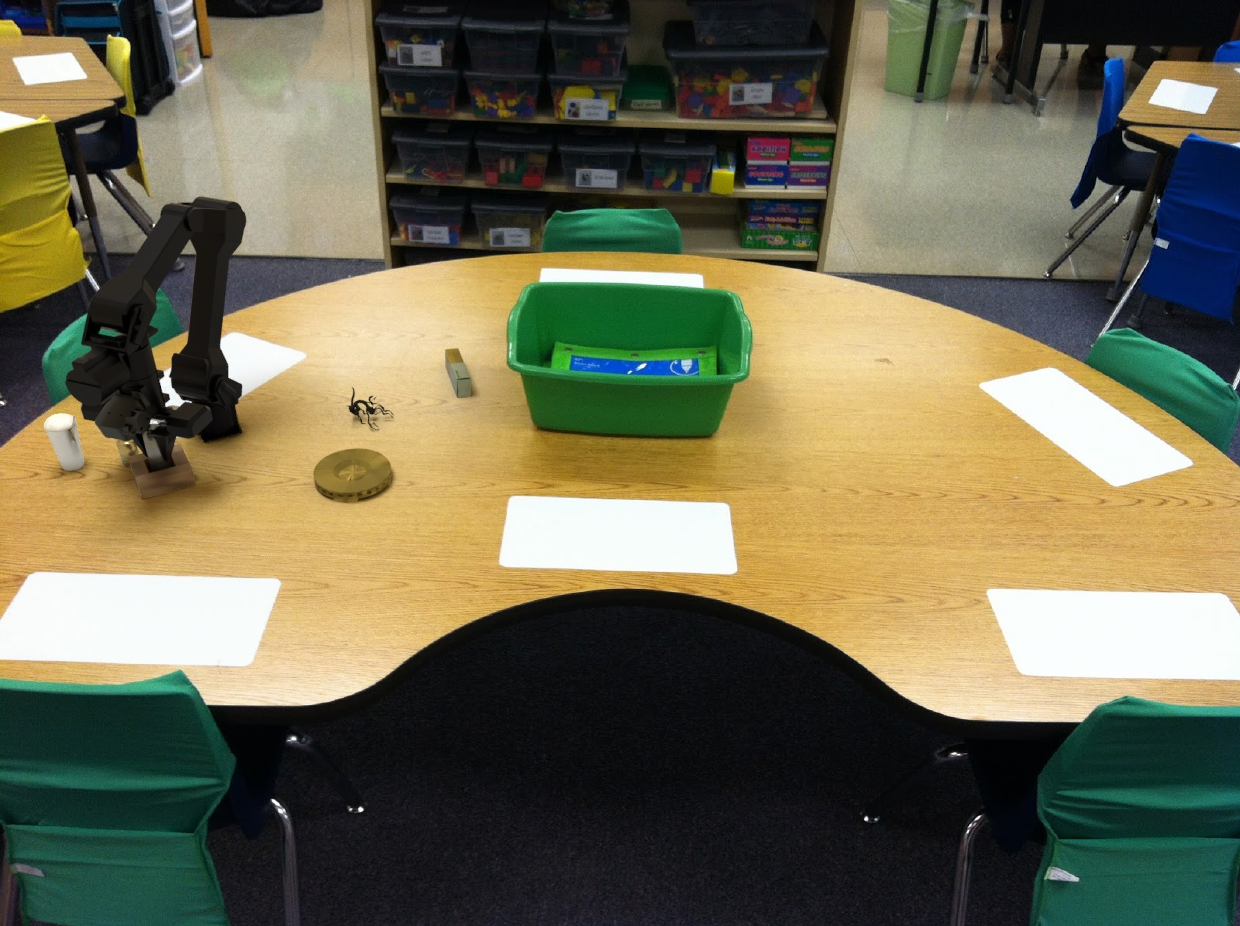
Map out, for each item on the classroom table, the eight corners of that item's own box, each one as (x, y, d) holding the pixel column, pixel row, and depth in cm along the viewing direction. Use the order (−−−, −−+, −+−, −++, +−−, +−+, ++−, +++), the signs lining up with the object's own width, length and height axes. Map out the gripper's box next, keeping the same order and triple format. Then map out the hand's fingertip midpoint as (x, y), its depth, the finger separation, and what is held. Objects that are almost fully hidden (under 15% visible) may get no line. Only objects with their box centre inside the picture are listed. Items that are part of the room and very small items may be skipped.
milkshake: (82, 476, 164) (65, 423, 158) (51, 471, 165) (33, 418, 159) (99, 460, 168) (83, 407, 162) (69, 455, 169) (52, 402, 163)
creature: (395, 412, 185) (349, 403, 184) (399, 387, 182) (353, 378, 181) (389, 437, 179) (342, 428, 177) (393, 411, 176) (346, 402, 174)
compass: (300, 480, 166) (298, 469, 165) (362, 450, 174) (361, 439, 172) (344, 513, 160) (342, 502, 159) (407, 481, 167) (406, 470, 166)
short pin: (139, 455, 169) (133, 434, 167) (142, 464, 168) (137, 443, 165) (120, 459, 168) (114, 439, 166) (124, 468, 166) (118, 448, 164)
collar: (184, 458, 169) (180, 443, 167) (196, 484, 164) (192, 469, 162) (132, 472, 166) (127, 456, 164) (142, 499, 160) (137, 483, 158)
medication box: (472, 397, 189) (471, 378, 186) (457, 399, 188) (456, 380, 185) (458, 365, 198) (458, 346, 195) (444, 366, 197) (443, 348, 195)
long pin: (170, 468, 166) (158, 421, 161) (174, 478, 164) (162, 430, 159) (151, 473, 165) (139, 426, 159) (155, 483, 163) (142, 435, 158)
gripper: (43, 388, 148) (72, 476, 157) (160, 409, 145) (182, 498, 154) (93, 351, 157) (117, 437, 166) (204, 371, 154) (223, 457, 163)
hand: (158, 457), depth 162 cm, fingers open, 3 cm apart
